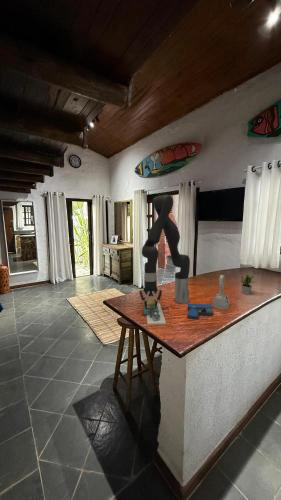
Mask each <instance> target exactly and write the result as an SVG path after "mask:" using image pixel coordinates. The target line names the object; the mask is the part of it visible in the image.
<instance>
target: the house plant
mask: <svg viewBox="0 0 281 500" xmlns="http://www.w3.org/2000/svg"><path fill="white" fill-rule="evenodd" d="M238 274H239V276H240V278H241V280H239V283H242V284H241V290H242V294H243V295H247V296H249V295H251V292H252V288H253V285H252V284H254V283H257V281H253V280H255V278H256V275H255V274H253V275H252V276H250V274H249V272H247V273H245V278H244V276H242V274H240V273H238Z"/></svg>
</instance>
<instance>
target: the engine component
mask: <svg viewBox="0 0 281 500" xmlns="http://www.w3.org/2000/svg"><path fill="white" fill-rule="evenodd" d="M225 279H226V277H225V275H224V274H220V276H219V279H218V281H219V283H218V285H219V293H217V294H215V297H213V300H212V307H213V308H215V309H220V310H227V309H229V308H230V299H229V298H230V297H229V296H228V295H226V294H224V287H225V281H226V280H225Z"/></svg>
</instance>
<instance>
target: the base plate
mask: <svg viewBox="0 0 281 500" xmlns="http://www.w3.org/2000/svg"><path fill="white" fill-rule="evenodd" d="M157 306H158V310H159V315H160V320H158V321H153V320H152V317H151V318H150V317H149V315H145V316H146V322H147V326H155V325H156V326H158V325H166V324H167V323H166V319H165V316H164V312H163V310H162V306H161V304H160V302H157Z"/></svg>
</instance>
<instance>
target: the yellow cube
mask: <svg viewBox="0 0 281 500" xmlns="http://www.w3.org/2000/svg"><path fill="white" fill-rule="evenodd" d="M147 309H155V298H154V297H148V298H147Z"/></svg>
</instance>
